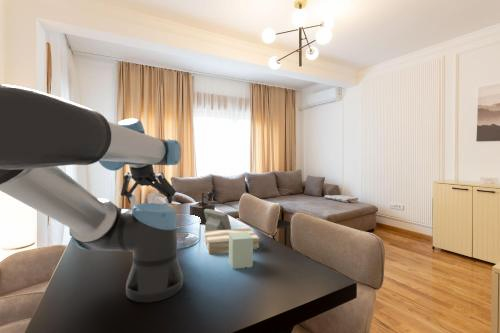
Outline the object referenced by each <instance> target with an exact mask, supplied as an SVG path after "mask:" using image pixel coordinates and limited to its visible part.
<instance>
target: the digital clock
mask: <svg viewBox="0 0 500 333" xmlns="http://www.w3.org/2000/svg"><path fill="white" fill-rule="evenodd" d="M204 214H205V218H206V221H207V222H206V223H205V224H204V225H205V226H204V228H205V229H204V231H215V230H230V229H232V225H231V221H230V219H229V215H228V213H226V212H223V211H218V210H210V209H205V210H204Z"/></svg>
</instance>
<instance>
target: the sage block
mask: <svg viewBox="0 0 500 333" xmlns="http://www.w3.org/2000/svg"><path fill="white" fill-rule="evenodd" d="M253 259H254V250H253V237H252V236H251V235H250V234H249V233H248V232H239V233H229V252H228V262H229V264H231V265H230V267H231V268H232V270H235V269H237V268H238V269H245V267H247V268H253V267H252V266H253V265H254V264H253V262H254V261H253Z"/></svg>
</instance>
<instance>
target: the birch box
mask: <svg viewBox="0 0 500 333" xmlns="http://www.w3.org/2000/svg"><path fill="white" fill-rule="evenodd" d="M239 232H248V233H249V234H250V235H251V236H252V237H253V249H257V248H260V240H261V238H260V237H259V236H258V235H257V234H256V233H255V232H254V231H253V230H252V229H251V228H250V227H248V228H247V227H246V228H231V229H230V230H215V231H205V230H204V243H205V246H206V250H207V252H208V254H209V255H214V254H215V255H216V254H225V253H229V233H239ZM257 250H258V249H257Z"/></svg>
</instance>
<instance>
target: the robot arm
mask: <svg viewBox="0 0 500 333" xmlns="http://www.w3.org/2000/svg"><path fill="white" fill-rule="evenodd" d="M181 147H182V146H181V144H180V142H179V141H178V140H176V139H163V138H158V137H154V136H151V135H149V134H146V133H145V129H144V126H143V122H142V121H141V120H140V119H138V118H126V119H123V120H120V121H118V123H114V122H111V121H108V119H107V118H106V117H105V116H104V115H103V114H102V113H101V112H99V111H97V110H94V109H91V108H89V107H86V106H84V105H81V104H78V103H75V102H74V101H73V102H72V101H70V100H67V99H65V98H62V97H58V96H55V95H52V94H49V93H46V92H42V91H39V90H36V89H32V88H31V89H30V88H27V87H23V86H18V85H12V84H0V191H1V192H2V193H4V194H6V195H7V196H10V197H12V198H13V199H15V200H17V201H19V202H21V203H22V204H25V205H26V206H28V207H30V208H31V209H34V210H36V211H37V212H40V213H42V214H43V215H45V216H47V217H49V218H50V219H53V220H54V221H56V222H57V223H61V224H62V225H63V226H65V227H67V228H69V232H68V233H69V236H70V238H71V242H72V244H73V245H74V246H76V248H79V249H81V250H85V251H90V252H91V251H93V252H95V251H108V252H109V251H110V252H132V265H131V268H130V271H129V274H128V276H127V280H126V283H125V296H126V297H127V299H129V300H131V301H133V302H136V303H153V302H154V303H155V302H159V301H163V300H166V299H169V298H171V297H173V296H174V295H176V294H178V293H179V292H180V291H181V290H182V288H183V285H184V275H183V272H182V269H181V266H180V263H179V260H178V226H179V225H178V216H177V215H178V214H177V211H176V210H175V208H173V206H172V203H173V197H175V194H176V192H177V191H176V190H175V188H174V187H173V186H172V184H171V183H170V182H169V181H168V180H167V178H166V177H165V175H164V172H160V173H157V174H156V173H155V172H154V167H153V166H176V165H178V164H179V163H180V161H181V158H182V148H181ZM96 163H99V164H100V165H101V167H103V168H104V169H106V170H108V171H115V172H116V171H119V170H120V169H121V168H124V167H125V166H126V165H128V167H129V171H130V172H129V171H128V172H126V173H125V174H124V176H123V180H124V181H123V185H122V187H121V191H120V196H121V197H124V196H125V197H126V198H127V202H128V203H129V204H131V208H124V207H123V208H121V207H118V206H117V205H116V204H115V203H114V202H112V201H110V200H109V199H106V198H97V197H96V196H95V195H94V194H92V193H91V192H89V191H88V189H86V188H85V187H83V185H81V184H80V183H78V182H77V181H76V180H75V179H74V178H72V176H70V175H69V174H67V172H65V171H64V170H63V169H61V168H60V167H61V166H74V165H77V166H89V165H95V164H96ZM59 166H60V167H59ZM131 179H132V180H133V181H134V182H135V183H134V184H133V185H132V187H131V188H130V189H129V191H128V188H129V185H130V182H131ZM138 185H139V186H141V187H143V186H146V187H149V186H150V187H152V188H154V189H155V190H156V191H158V192H160V193H161V194H162V196H165V197H164V200H165V204H162V203H154V202H153V203H152V202H151V203H150V202H149V203H148V202H144V203H138V202H137V199H136V196H135V193H133V192H134V191H135V189H136V188H137V187H138Z"/></svg>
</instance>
